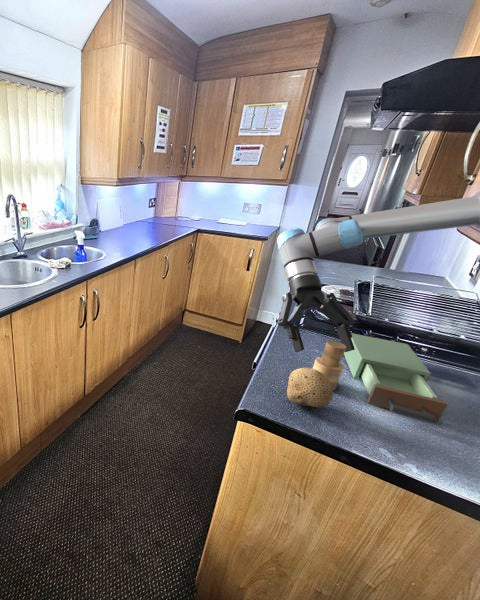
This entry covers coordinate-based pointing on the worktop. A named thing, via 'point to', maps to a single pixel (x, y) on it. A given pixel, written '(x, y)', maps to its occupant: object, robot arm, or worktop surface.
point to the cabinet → (383, 356)
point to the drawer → (401, 392)
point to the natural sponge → (309, 388)
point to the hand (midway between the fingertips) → (324, 350)
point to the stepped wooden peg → (331, 362)
